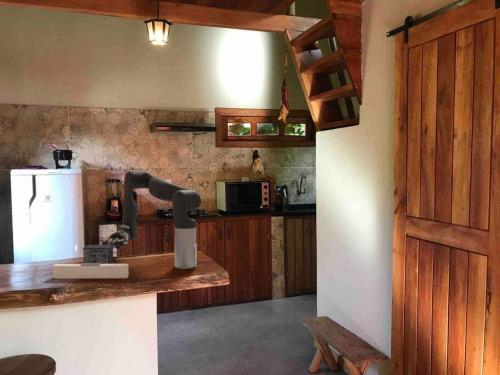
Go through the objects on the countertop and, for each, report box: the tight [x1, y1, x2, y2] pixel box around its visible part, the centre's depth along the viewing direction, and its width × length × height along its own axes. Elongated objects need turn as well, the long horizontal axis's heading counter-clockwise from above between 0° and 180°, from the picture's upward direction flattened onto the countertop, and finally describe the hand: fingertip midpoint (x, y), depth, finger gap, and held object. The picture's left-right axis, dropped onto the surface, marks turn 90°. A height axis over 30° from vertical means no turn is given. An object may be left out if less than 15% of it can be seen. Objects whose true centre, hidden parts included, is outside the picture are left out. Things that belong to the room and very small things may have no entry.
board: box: [52, 262, 130, 280], centre depth 152 cm, size 28×3×5 cm, turn 94°
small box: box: [82, 244, 114, 264], centre depth 162 cm, size 11×6×10 cm, turn 94°
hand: (108, 246), depth 174 cm, fingers closed
